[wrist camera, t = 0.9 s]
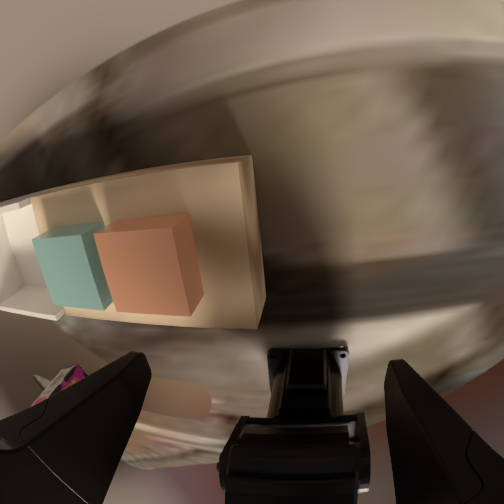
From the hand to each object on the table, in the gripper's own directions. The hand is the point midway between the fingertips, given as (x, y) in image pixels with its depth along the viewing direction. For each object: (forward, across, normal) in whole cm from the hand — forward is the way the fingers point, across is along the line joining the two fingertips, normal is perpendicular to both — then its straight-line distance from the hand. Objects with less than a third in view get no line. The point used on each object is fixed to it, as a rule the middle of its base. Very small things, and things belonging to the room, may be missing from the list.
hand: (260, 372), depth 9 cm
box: (+13, +24, 0) cm, 27 cm away
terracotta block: (+9, +8, 0) cm, 12 cm away
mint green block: (+9, +14, 0) cm, 16 cm away
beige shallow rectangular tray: (+13, +10, 0) cm, 16 cm away
